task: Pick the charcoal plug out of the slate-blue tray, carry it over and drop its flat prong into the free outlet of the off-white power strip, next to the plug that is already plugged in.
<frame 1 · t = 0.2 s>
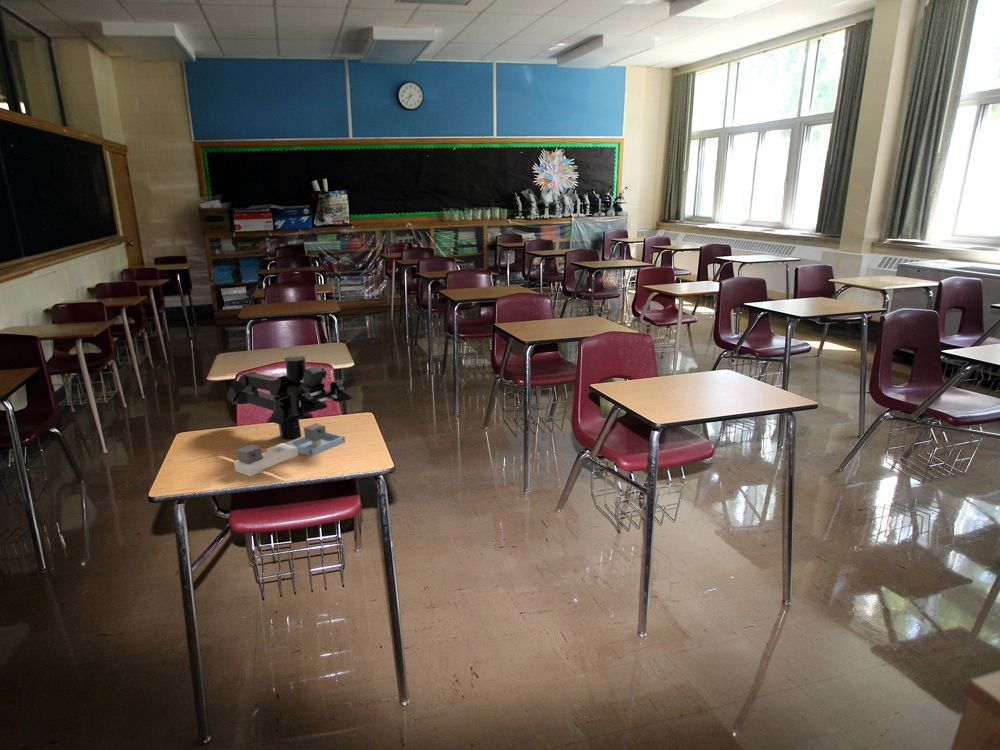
hand: (339, 401, 181), 16 cm above the table, tool horizontal, fingers open, 9 cm apart
plug: (316, 445, 191), point 1 cm above the table, touching plug tray
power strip: (267, 463, 179), on the table
plug tray: (316, 447, 191), on the table
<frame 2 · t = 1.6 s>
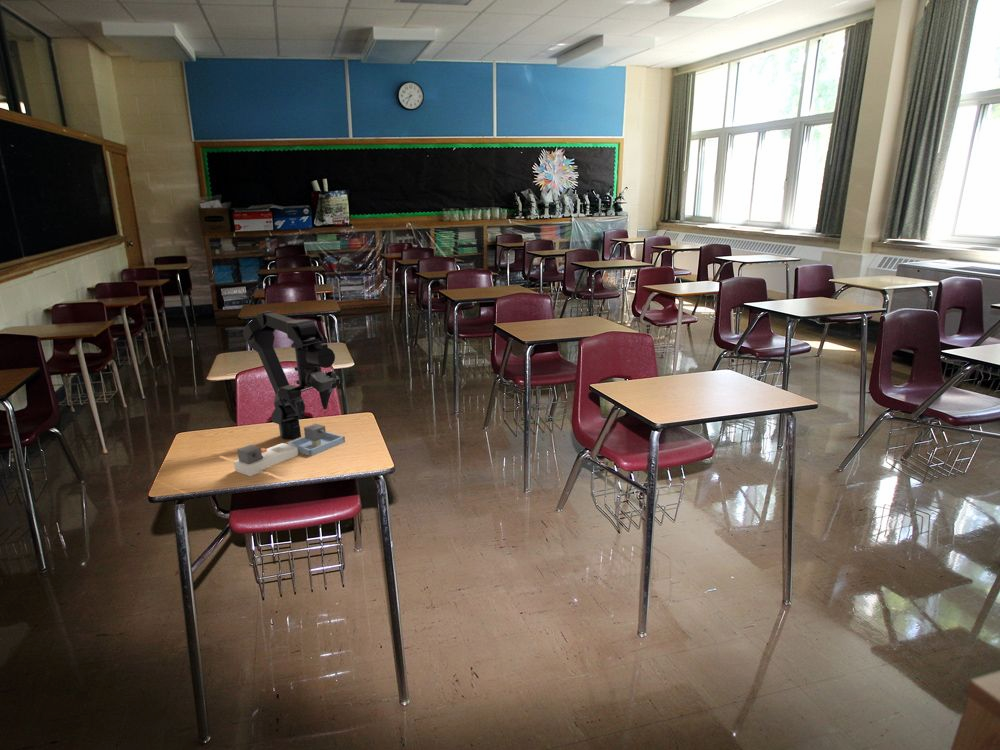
hand: (313, 413, 188), 11 cm above the table, tool pointing down, fingers open, 9 cm apart
nothing on the table moved.
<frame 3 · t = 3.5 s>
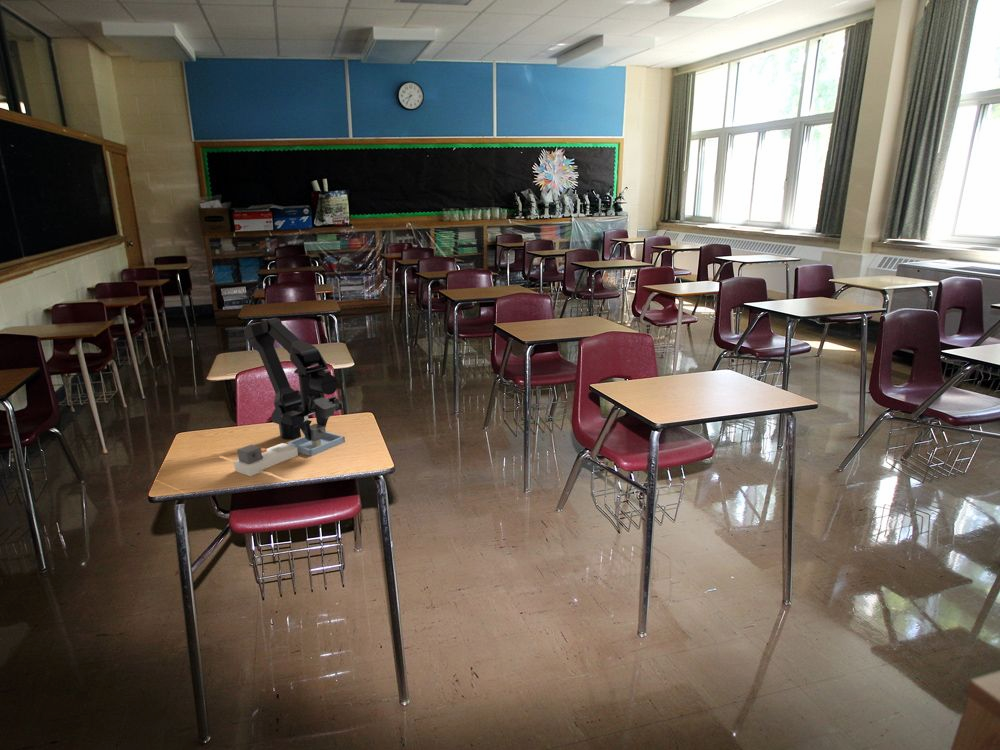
hand: (315, 437, 190), 3 cm above the table, tool pointing down, fingers closed on plug, 4 cm apart
plug: (316, 445, 191), point 1 cm above the table, touching gripper, plug tray
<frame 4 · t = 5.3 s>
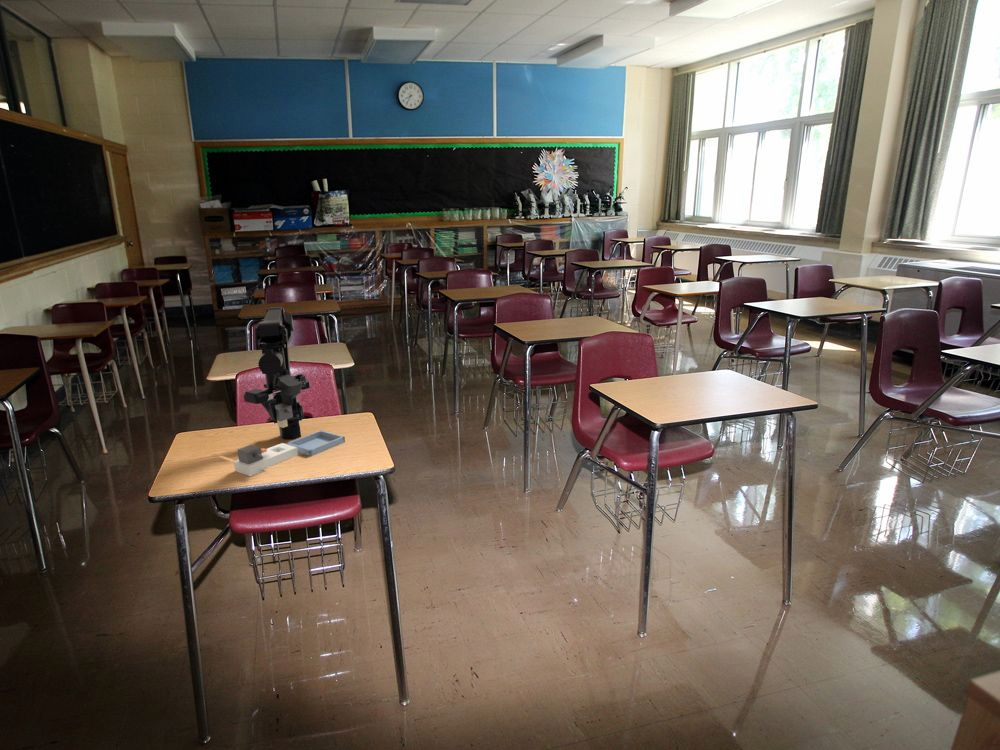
hand: (281, 418, 180), 12 cm above the table, tool pointing down, fingers closed on plug, 4 cm apart
plug: (282, 426, 181), point 10 cm above the table, touching gripper
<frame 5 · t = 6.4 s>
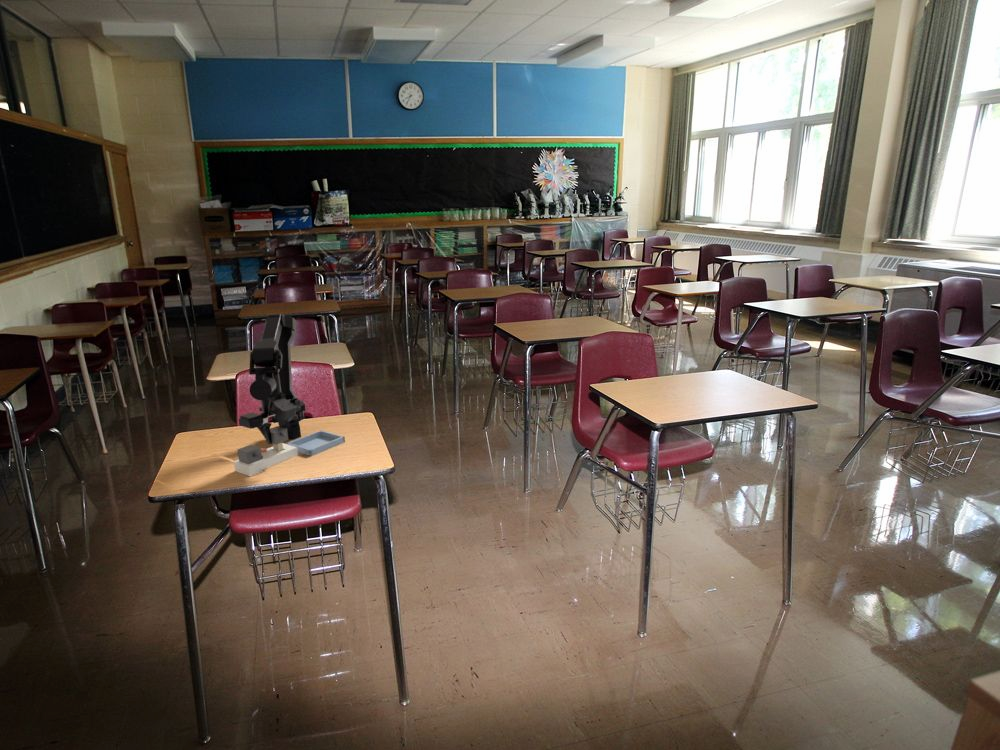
hand: (277, 441, 181), 6 cm above the table, tool pointing down, fingers closed on plug, 4 cm apart
plug: (278, 448, 182), point 3 cm above the table, touching gripper
when the fingers open (4 cm above the table, at t = 7.4 s): plug drops 1 cm, resting on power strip.
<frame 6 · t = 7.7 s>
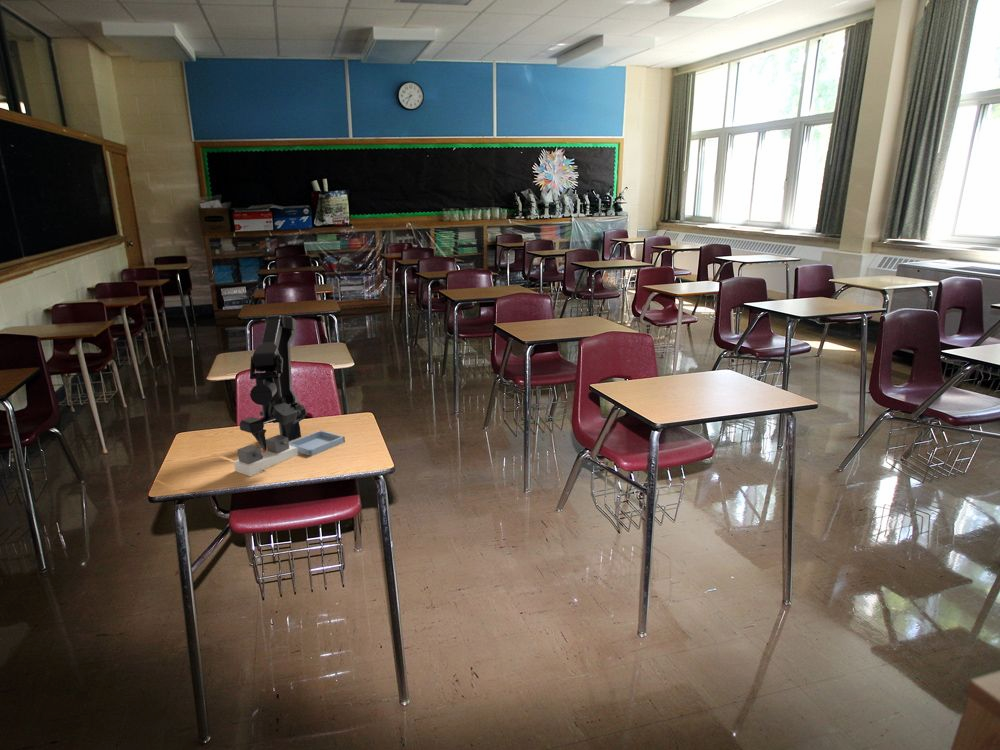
hand: (277, 445, 181), 4 cm above the table, tool pointing down, fingers open, 8 cm apart
plug: (279, 457, 182), resting on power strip
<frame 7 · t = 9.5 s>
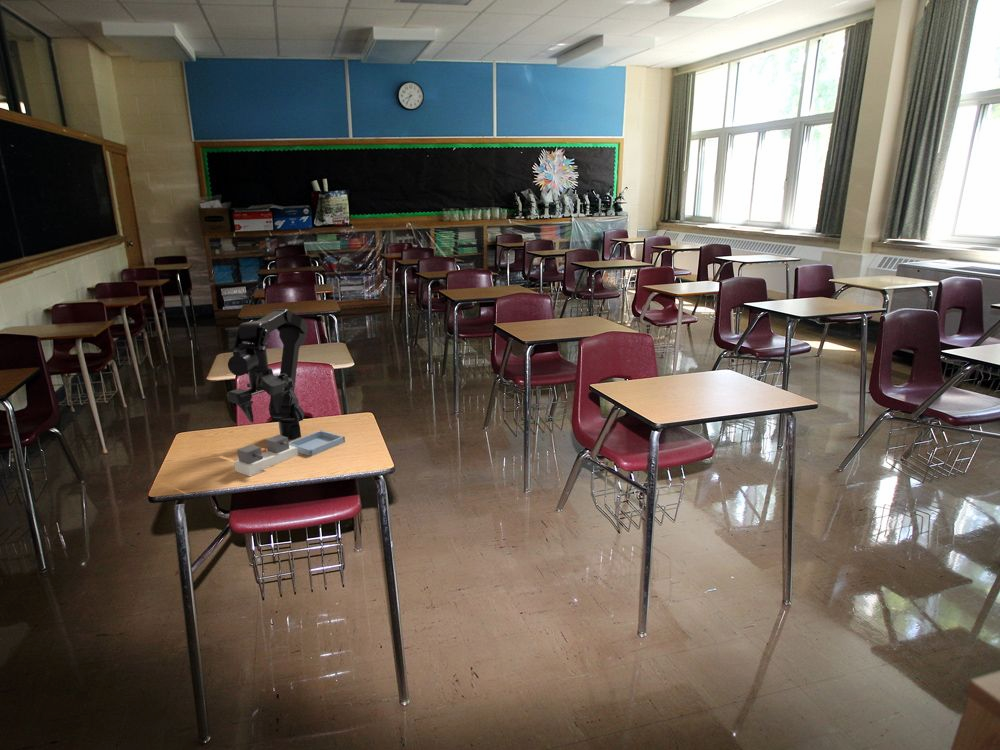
hand: (265, 417, 183), 12 cm above the table, tool pointing down, fingers open, 9 cm apart
nothing on the table moved.
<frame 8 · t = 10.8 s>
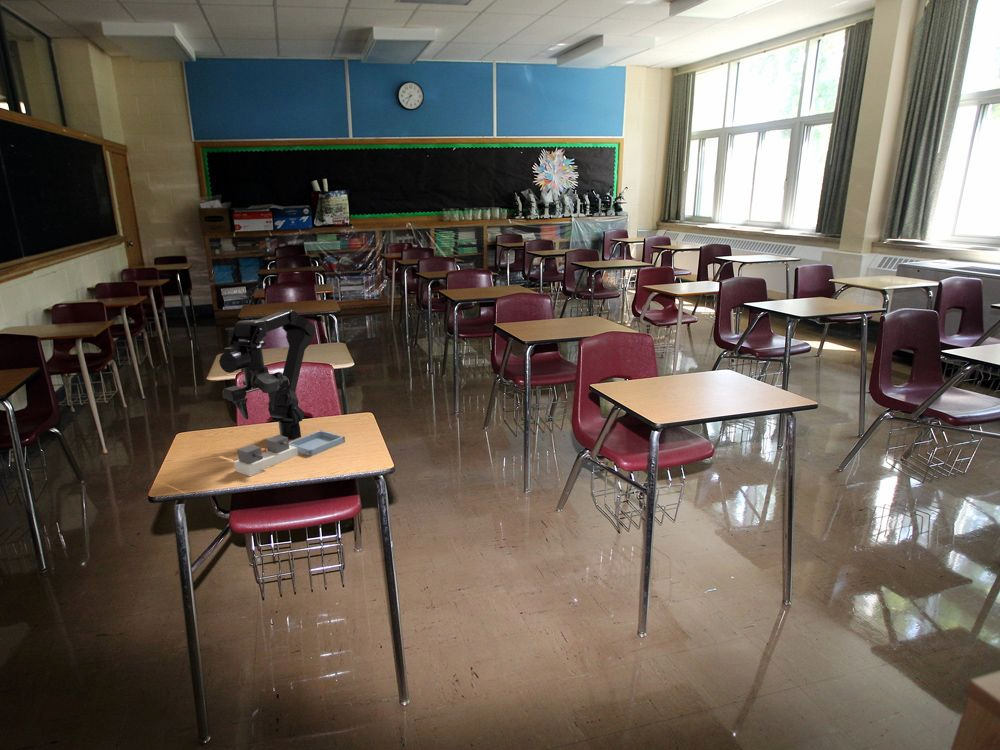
hand: (260, 414, 185), 12 cm above the table, tool pointing down, fingers open, 9 cm apart
nothing on the table moved.
at the end: plug 0.1 cm from the target spot on the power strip, point 0.5 cm above the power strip's base; plug tilted 0°; the gripper is holding nothing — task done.
